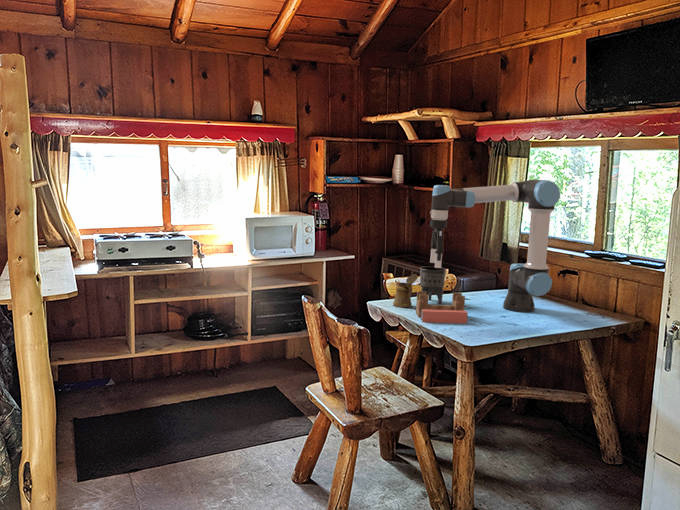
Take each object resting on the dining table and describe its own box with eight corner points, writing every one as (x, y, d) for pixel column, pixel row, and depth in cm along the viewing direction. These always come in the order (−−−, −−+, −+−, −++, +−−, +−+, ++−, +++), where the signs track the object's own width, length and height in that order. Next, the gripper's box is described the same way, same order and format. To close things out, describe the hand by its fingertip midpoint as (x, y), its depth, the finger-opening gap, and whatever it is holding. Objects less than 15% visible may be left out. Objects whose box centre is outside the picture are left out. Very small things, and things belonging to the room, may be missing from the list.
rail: (464, 321, 270) (465, 310, 269) (466, 323, 266) (467, 312, 265) (420, 320, 269) (421, 309, 268) (422, 322, 265) (422, 311, 265)
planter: (447, 302, 306) (449, 268, 303) (437, 306, 295) (439, 271, 293) (424, 298, 313) (426, 265, 310) (413, 302, 302) (416, 268, 299)
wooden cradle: (459, 314, 282) (461, 292, 280) (463, 318, 274) (465, 296, 273) (415, 313, 281) (417, 291, 279) (418, 317, 273) (419, 294, 272)
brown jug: (405, 310, 285) (407, 273, 282) (389, 304, 296) (391, 268, 293) (420, 309, 289) (422, 272, 286) (403, 302, 301) (405, 268, 298)
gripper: (426, 216, 282) (423, 260, 285) (435, 221, 257) (431, 269, 261) (442, 217, 282) (439, 261, 285) (452, 222, 258) (448, 270, 261)
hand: (435, 265), depth 273 cm, fingers open, 13 cm apart
